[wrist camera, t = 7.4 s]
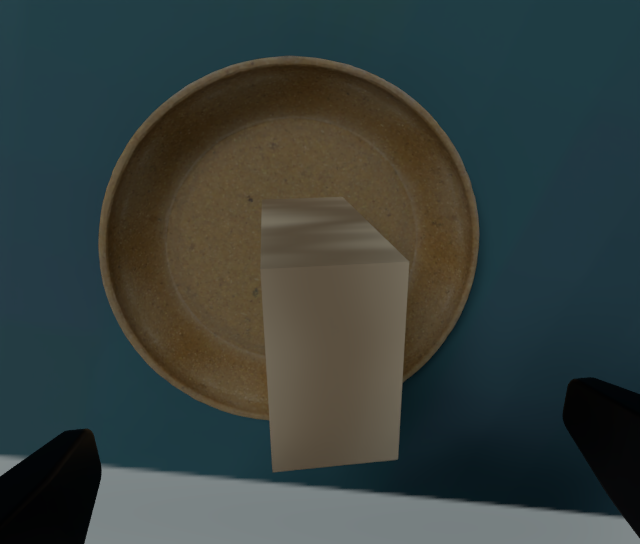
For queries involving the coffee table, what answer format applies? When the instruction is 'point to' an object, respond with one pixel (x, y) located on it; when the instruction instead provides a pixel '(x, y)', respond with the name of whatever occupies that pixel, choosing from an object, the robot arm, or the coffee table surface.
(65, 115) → the coffee table surface
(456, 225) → the plant saucer
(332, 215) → the taupe streaky block
